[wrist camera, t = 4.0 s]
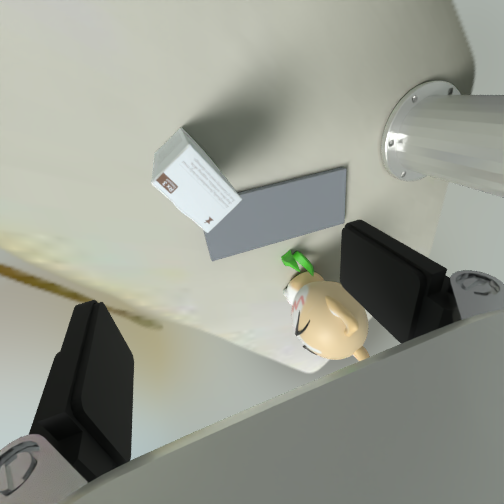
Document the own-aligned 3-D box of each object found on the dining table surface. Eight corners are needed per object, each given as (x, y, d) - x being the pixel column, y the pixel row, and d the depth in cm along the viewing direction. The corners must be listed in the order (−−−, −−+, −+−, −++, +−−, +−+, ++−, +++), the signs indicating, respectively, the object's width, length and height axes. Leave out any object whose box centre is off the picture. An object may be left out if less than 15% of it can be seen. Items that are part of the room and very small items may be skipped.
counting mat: (342, 167, 38) (346, 168, 37) (340, 220, 42) (344, 223, 41) (196, 202, 34) (197, 205, 33) (210, 257, 38) (211, 261, 37)
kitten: (255, 267, 41) (300, 342, 29) (313, 232, 41) (383, 292, 29) (289, 325, 49) (336, 403, 37) (337, 296, 50) (400, 363, 37)
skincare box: (218, 166, 33) (249, 199, 23) (191, 193, 33) (210, 237, 23) (178, 123, 29) (194, 138, 19) (149, 154, 30) (149, 184, 20)
